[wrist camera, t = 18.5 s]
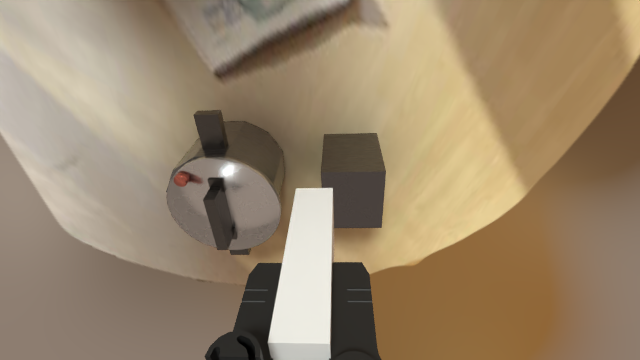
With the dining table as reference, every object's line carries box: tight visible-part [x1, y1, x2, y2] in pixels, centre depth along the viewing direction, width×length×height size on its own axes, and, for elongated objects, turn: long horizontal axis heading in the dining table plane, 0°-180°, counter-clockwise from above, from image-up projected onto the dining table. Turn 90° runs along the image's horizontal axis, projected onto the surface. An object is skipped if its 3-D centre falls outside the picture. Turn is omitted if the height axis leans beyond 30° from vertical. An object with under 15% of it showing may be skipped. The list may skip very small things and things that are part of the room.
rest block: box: [321, 133, 386, 228], centre depth 42 cm, size 8×7×10 cm
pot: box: [166, 110, 285, 255], centre depth 43 cm, size 21×12×10 cm, turn 2°
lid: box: [167, 155, 282, 250], centre depth 37 cm, size 13×13×4 cm
